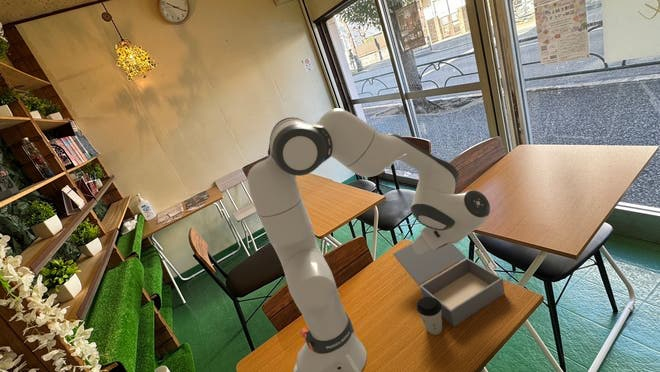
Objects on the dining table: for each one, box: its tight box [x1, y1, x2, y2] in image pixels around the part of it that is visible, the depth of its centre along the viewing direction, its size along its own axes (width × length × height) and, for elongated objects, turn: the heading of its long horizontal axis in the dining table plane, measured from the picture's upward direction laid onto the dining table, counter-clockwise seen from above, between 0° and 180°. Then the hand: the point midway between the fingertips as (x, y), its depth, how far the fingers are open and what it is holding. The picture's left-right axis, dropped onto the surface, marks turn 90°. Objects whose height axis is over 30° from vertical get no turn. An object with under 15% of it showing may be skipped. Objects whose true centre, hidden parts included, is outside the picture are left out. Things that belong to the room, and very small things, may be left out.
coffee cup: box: [416, 297, 443, 336], centre depth 90 cm, size 7×7×10 cm
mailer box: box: [419, 257, 506, 328], centre depth 98 cm, size 20×14×6 cm
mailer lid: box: [392, 242, 467, 286], centre depth 108 cm, size 20×14×1 cm
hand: (434, 241), depth 100 cm, fingers closed
